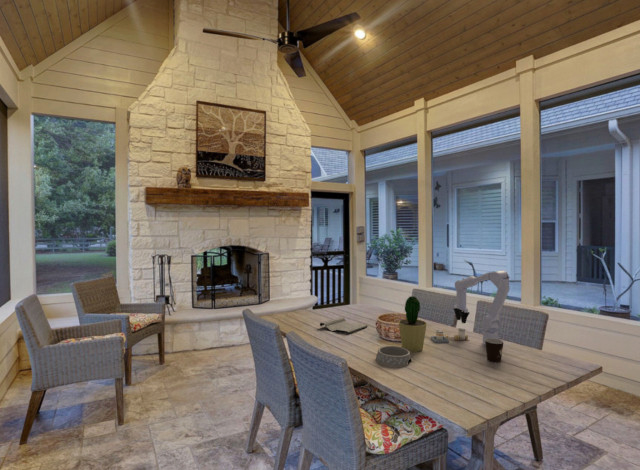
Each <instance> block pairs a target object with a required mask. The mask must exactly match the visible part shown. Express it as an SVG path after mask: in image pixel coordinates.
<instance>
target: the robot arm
mask: <svg viewBox="0 0 640 470" xmlns="http://www.w3.org/2000/svg"><path fill="white" fill-rule="evenodd" d="M510 279H511V278H510V275H509V274H508V272H507V271H506V270H497V271H490V272H486V273H483V274H480V275H478V276H474V275H468V277H466V278H462V280H461V279H460V280H457V281H455V282H454V288H455V289H456V292H455V293H456V294H455V295H456V304H454V308H453V312H454V314H455V318H456V321H461V324H466V322H467V319H468V317H469V315H470V311H469V309H468V307H467V291H468V289H469V288H472V287H475V286H477V285H478V283H480V282H483V281H486V280H487V281H491V283H493V285H494V286H495V287H496V289H497V291H496V293H495V296H494V298H493V301H492V302H491V303H492V304H491V305H490V308H489V311H488V313H487V314H486V315H485V316H484V318H483V319H482V320H481V322H480V323H479V324H480V327H481V329H482V344H483V345H484V346H486V343H485V339H498V340H501V339H500V335H499V334H498V333H497V329H498V328H499V326H500V317H499V316H500V313H501V311H502V309H503V306H504V303H505V302H506V299H507V297H508V294H509V292H510Z"/></svg>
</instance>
